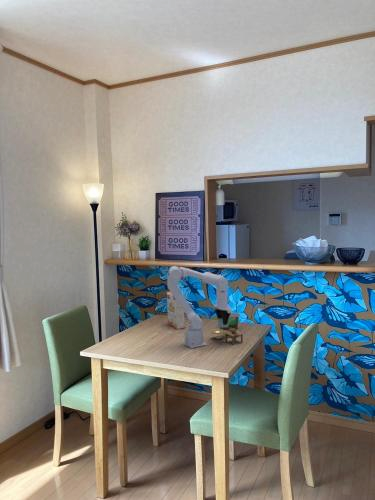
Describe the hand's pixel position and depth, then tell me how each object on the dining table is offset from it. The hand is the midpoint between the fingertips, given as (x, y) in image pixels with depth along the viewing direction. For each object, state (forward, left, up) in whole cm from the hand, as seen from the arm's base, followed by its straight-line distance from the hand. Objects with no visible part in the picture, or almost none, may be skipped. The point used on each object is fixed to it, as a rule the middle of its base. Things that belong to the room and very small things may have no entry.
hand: (223, 323), depth 220 cm
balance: (+6, +7, -10) cm, 14 cm away
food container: (+16, +19, -11) cm, 27 cm away
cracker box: (-7, +43, -11) cm, 45 cm away
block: (0, 0, -2) cm, 2 cm away
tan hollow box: (+5, -3, -10) cm, 12 cm away
